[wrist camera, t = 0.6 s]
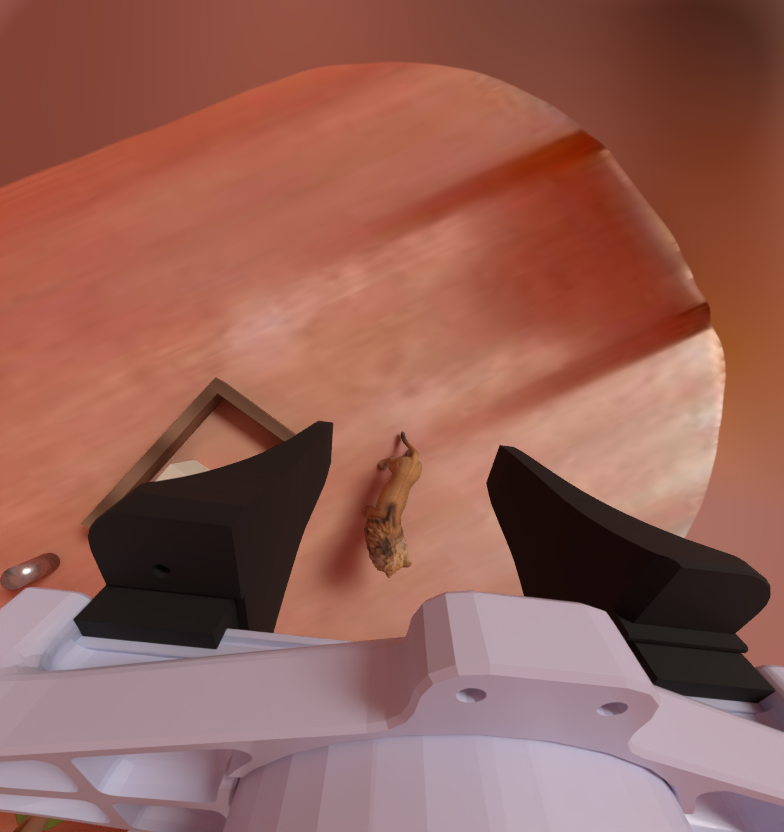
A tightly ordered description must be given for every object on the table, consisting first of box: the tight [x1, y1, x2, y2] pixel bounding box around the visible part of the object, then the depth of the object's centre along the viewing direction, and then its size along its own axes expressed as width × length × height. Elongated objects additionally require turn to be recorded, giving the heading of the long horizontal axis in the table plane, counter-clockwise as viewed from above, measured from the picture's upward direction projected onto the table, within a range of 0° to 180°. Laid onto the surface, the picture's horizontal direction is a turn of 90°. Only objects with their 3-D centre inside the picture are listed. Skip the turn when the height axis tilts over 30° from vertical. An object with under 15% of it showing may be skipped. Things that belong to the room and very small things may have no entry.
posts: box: [0, 553, 60, 590], centre depth 27 cm, size 2×15×3 cm, turn 53°
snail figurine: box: [14, 814, 65, 832], centre depth 22 cm, size 5×6×12 cm
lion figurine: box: [363, 432, 422, 578], centre depth 32 cm, size 15×5×9 cm, turn 167°
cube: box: [156, 460, 210, 481], centre depth 29 cm, size 5×5×5 cm
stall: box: [81, 377, 296, 529], centre depth 30 cm, size 18×11×2 cm, turn 143°
